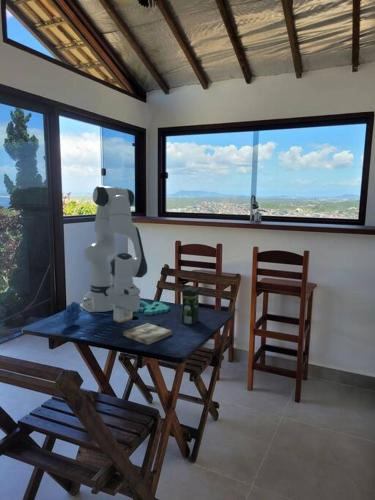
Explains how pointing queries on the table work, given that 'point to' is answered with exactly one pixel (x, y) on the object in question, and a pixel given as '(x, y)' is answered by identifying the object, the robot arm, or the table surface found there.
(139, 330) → the birch board
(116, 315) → the block
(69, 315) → the grapes
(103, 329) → the table surface
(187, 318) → the coffee jar
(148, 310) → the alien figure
